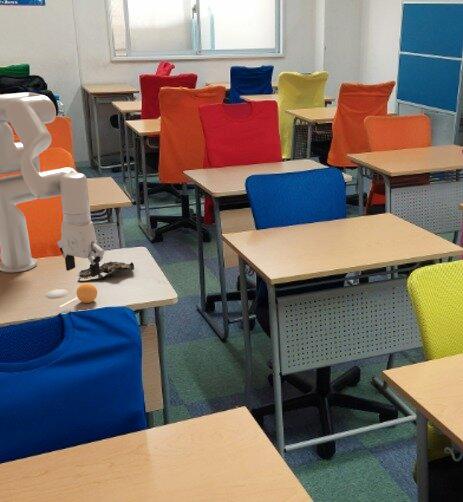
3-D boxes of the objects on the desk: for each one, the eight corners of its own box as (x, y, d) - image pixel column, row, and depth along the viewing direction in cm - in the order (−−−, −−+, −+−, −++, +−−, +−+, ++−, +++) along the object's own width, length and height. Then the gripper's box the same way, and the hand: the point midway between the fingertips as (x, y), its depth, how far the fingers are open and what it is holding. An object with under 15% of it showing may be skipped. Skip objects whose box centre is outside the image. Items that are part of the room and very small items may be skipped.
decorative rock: (77, 276, 194) (72, 258, 207) (80, 293, 197) (75, 274, 210) (136, 264, 200) (127, 246, 212) (139, 280, 202) (130, 262, 215)
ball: (73, 303, 183) (71, 285, 181) (87, 296, 188) (85, 278, 185) (88, 307, 180) (86, 289, 178) (102, 300, 185) (100, 281, 183)
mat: (30, 301, 187) (30, 299, 186) (68, 282, 199) (68, 281, 199) (79, 314, 177) (78, 312, 177) (115, 294, 190) (115, 292, 189)
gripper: (45, 215, 176) (52, 271, 182) (90, 225, 168) (96, 282, 174) (64, 209, 182) (70, 262, 188) (109, 217, 174) (114, 273, 180)
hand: (83, 272), depth 181 cm, fingers open, 9 cm apart
